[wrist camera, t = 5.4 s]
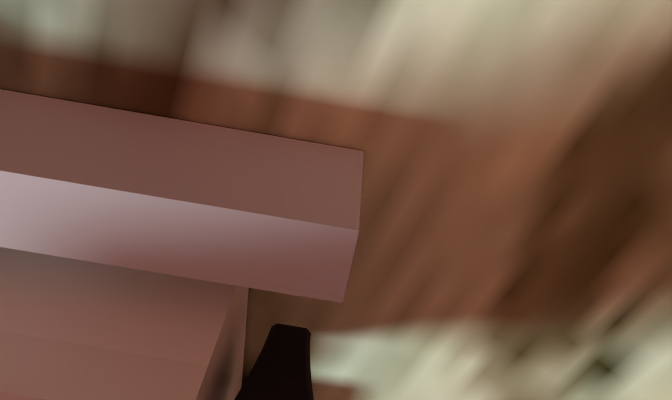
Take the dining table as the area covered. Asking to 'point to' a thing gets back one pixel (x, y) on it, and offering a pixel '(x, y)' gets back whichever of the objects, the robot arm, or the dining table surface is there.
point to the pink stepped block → (116, 332)
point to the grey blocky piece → (177, 197)
